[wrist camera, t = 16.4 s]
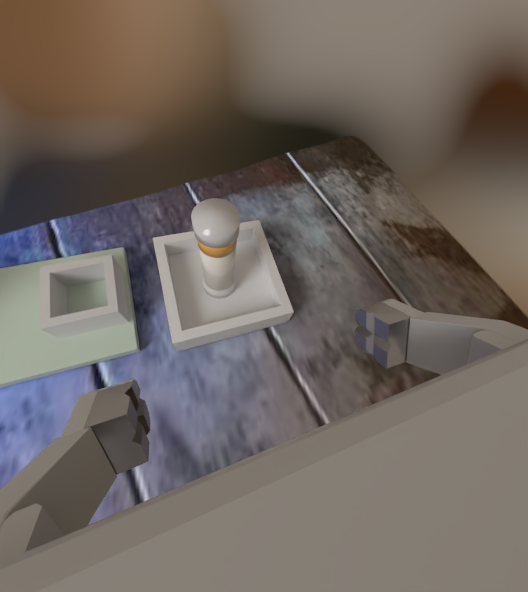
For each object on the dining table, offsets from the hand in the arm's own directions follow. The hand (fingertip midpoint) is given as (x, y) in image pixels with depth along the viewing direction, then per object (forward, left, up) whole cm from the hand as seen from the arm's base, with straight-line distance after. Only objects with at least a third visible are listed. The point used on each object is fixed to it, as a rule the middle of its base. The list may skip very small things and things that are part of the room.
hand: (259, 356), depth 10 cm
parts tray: (+12, -1, -18) cm, 22 cm away
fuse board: (+13, +19, -18) cm, 30 cm away
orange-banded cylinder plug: (+12, -1, -18) cm, 21 cm away
